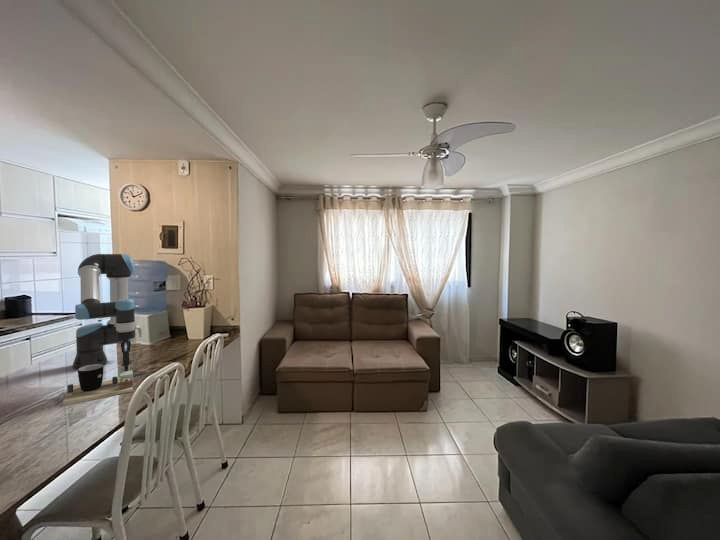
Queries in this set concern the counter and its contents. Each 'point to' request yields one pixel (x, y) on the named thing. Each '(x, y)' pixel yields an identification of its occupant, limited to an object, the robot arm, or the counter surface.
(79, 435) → the counter surface
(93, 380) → the mug
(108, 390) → the board
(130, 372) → the block
